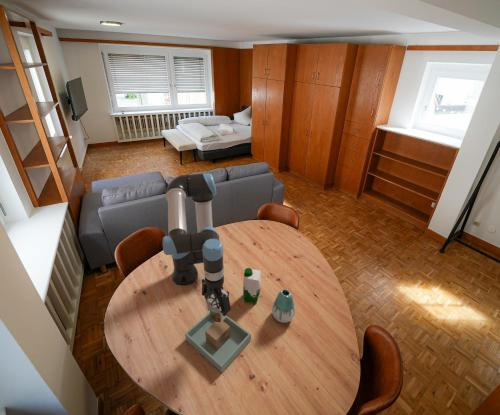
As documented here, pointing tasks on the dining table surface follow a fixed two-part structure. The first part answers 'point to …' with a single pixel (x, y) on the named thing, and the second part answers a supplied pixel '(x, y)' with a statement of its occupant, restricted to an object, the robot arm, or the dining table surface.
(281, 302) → the vase
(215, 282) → the robot arm
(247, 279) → the milk carton
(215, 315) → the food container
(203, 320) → the tote
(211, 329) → the walnut block
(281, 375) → the dining table surface
